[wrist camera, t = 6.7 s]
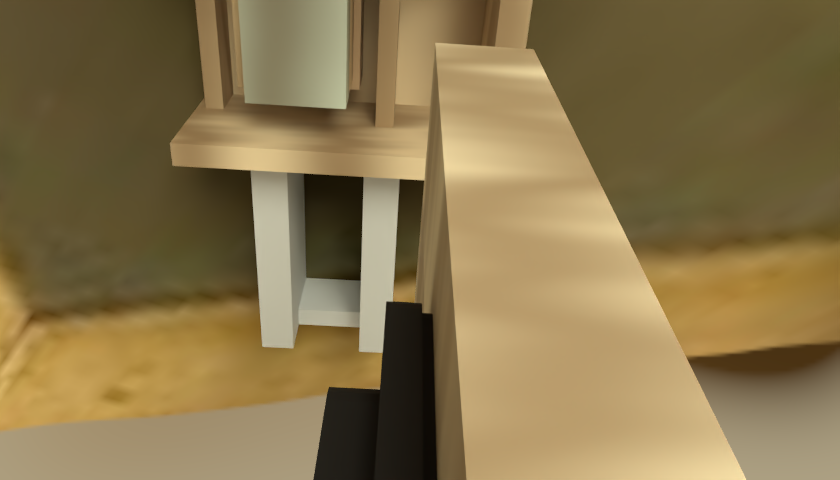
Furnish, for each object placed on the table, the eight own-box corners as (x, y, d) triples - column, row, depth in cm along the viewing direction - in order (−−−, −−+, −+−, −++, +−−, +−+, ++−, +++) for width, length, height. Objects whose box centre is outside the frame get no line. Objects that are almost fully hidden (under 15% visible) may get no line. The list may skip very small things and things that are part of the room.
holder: (401, 129, 35) (399, 172, 31) (392, 296, 41) (389, 353, 36) (270, 121, 35) (250, 164, 31) (278, 290, 40) (262, 346, 36)
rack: (529, -129, 29) (557, -115, 23) (496, 122, 35) (512, 185, 29) (191, -154, 29) (132, -147, 23) (215, 105, 35) (172, 165, 29)
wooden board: (533, 49, 14) (837, 663, 4) (491, 322, 18) (591, 1014, 7) (435, 42, 14) (478, 647, 4) (413, 318, 18) (405, 1010, 7)
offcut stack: (366, -78, 29) (356, -57, 25) (362, 75, 33) (353, 119, 28) (246, -86, 29) (213, -68, 24) (255, 68, 33) (228, 111, 28)
